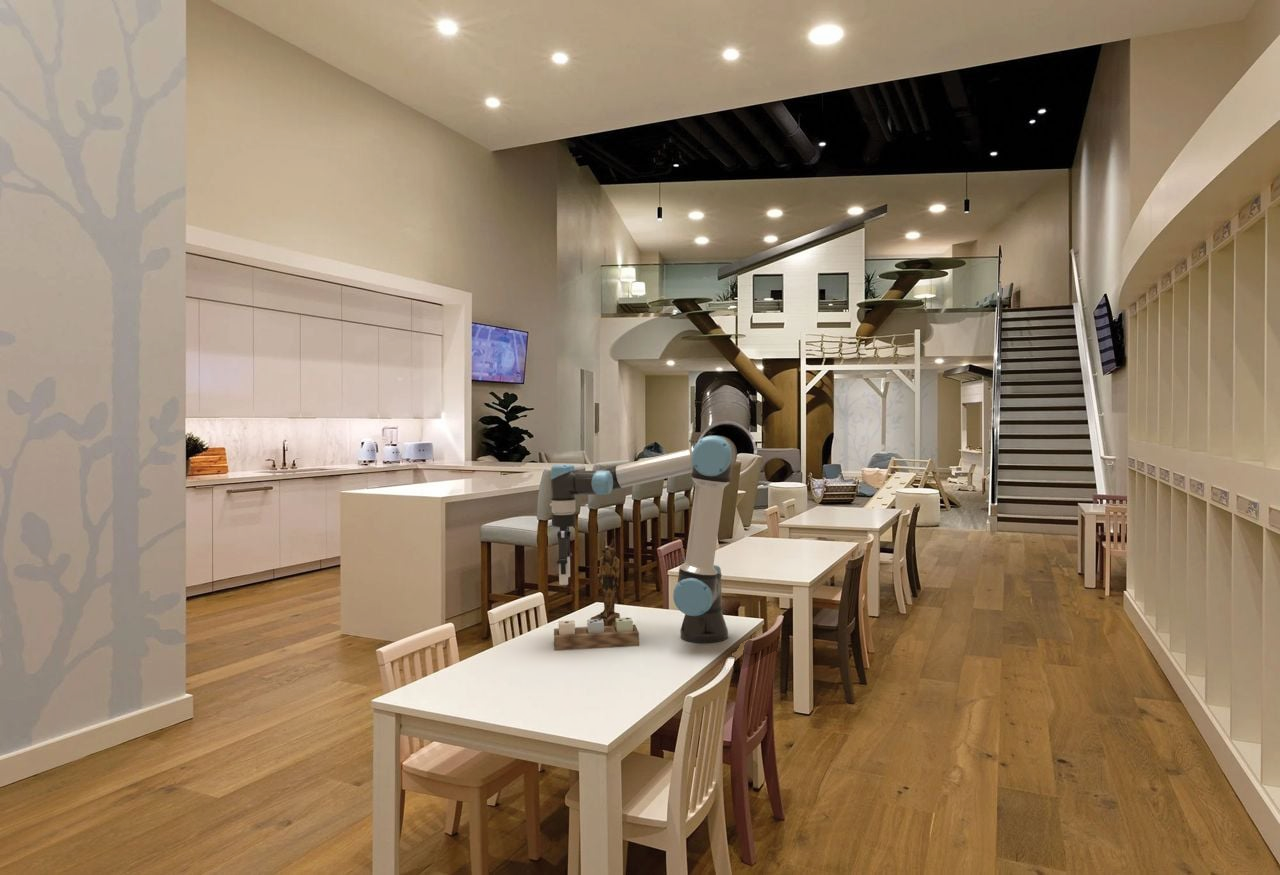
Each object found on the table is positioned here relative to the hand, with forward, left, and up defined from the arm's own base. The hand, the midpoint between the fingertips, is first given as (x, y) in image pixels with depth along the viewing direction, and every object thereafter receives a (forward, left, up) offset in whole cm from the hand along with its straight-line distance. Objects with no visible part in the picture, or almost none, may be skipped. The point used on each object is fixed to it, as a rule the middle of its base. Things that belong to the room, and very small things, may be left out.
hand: (565, 580), depth 254 cm
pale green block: (-15, -11, -16) cm, 25 cm away
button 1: (-2, +2, -16) cm, 17 cm away
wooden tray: (-9, -4, -20) cm, 22 cm away
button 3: (-9, -4, -16) cm, 19 cm away
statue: (+1, -21, -20) cm, 29 cm away
